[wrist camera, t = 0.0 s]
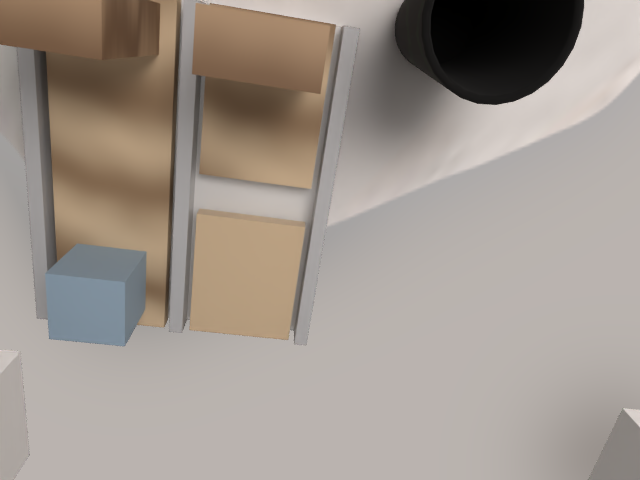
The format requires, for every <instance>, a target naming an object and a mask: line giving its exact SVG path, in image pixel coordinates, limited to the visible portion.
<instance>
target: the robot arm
mask: <svg viewBox="0 0 640 480" xmlns="http://www.w3.org/2000/svg"><path fill="white" fill-rule="evenodd" d="M29 455H30V454H29V443H28V431H27V420H26V409H25V398H24V386H23V376H22V364H21V352H20V351H11V350H0V480H14V479H15V477H16V475H17V474H18V472H19V471H20V469H21V468H22V466H23V464H24V463H25V461H26V460H27V458H28V457H29ZM588 480H640V410H634V409H624V408H623V409H622V411H621V413H620V415H619V417H618V419H617V421H616V423H615V425H614V427H613V429H612V432H611V433H610V436H609V438H608V440H607V442H606V444H605V446H604V448H603V450H602V452H601V454H600V456H599V458H598V460H597V462H596V464H595V466H594V468H593V471H592V472H591V475H590V477H589V479H588Z"/></svg>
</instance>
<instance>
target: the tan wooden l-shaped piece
mask: <svg viewBox="0 0 640 480" xmlns="http://www.w3.org/2000/svg"><path fill="white" fill-rule="evenodd" d="M180 19H181V0H0V44H1V45H7V46H14V47H20V48H27V49H33V50H39V51H46V63H47V81H48V100H49V119H50V138H51V157H52V176H53V195H54V213H55V232H56V251H57V262H58V261H59V260H60V259H61V258H62V257H63V256H64V255H65V254H66V253H67V252H69V251H70V250H71V249H72V248H73V247H74V246H75V245H76V244H86V245H95V246H103V247H112V248H120V249H129V250H137V251H146V252H147V256H146V300H145V311H144V313H143V314H142V316H141V318H140V320H139V322H138V323H137V325H145V326H154V327H165V324H166V322H167V320H168V301H169V278H170V254H171V230H172V207H173V183H174V160H175V136H176V113H177V89H178V66H179V42H180Z"/></svg>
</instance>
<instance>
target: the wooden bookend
mask: <svg viewBox="0 0 640 480" xmlns="http://www.w3.org/2000/svg"><path fill="white" fill-rule="evenodd" d="M335 29H336V25H335V24H329V23H323V22H317V21H311V20H306V19H300V18H294V17H288V16H282V15H276V14H271V13H265V12H259V11H253V10H247V9H241V8H236V7H230V6H224V5H218V4H212V3H210V5H206V4H200V3H196V5H195V24H194V43H193V62H192V74H194V75H200V76H205V89H204V105H203V121H202V137H201V153H200V169H199V174H203V175H211V176H218V177H226V178H233V179H241V180H248V181H256V182H263V183H270V184H278V185H285V186H293V187H300V188H308V189H311V187H312V180H313V173H314V167H315V160H316V154H317V147H318V141H319V134H320V127H321V121H322V114H323V108H324V101H325V95H326V88H327V81H328V75H329V68H330V62H331V55H332V49H333V42H334V35H335Z"/></svg>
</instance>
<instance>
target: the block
mask: <svg viewBox="0 0 640 480" xmlns="http://www.w3.org/2000/svg"><path fill="white" fill-rule="evenodd" d="M146 256H147V252H146V251H137V250H129V249H120V248H112V247H103V246H95V245H86V244H76V245H75V246H74V247H73V248H72V249H71V250H70V251H69V252H67V253H66V254H65V255H64V256H63V257H62V258H61V259H60V260H59V261H58V262H57V263H56V264H55V265H54V266H52V267H51V268H50V269H49V270H48V271H47V272H46V273H45V281H46V297H47V313H48V328H49V339H55V340H65V341H75V342H86V343H97V344H107V345H116V346H125V345H126V343H127V341H128V340H129V338H130V336H131V334H132V332H133V330H134V329H135V327H136V325H137V323H138V322H139V320H140V318H141V316H142V314H143V313H144V311H145V300H146Z"/></svg>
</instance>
